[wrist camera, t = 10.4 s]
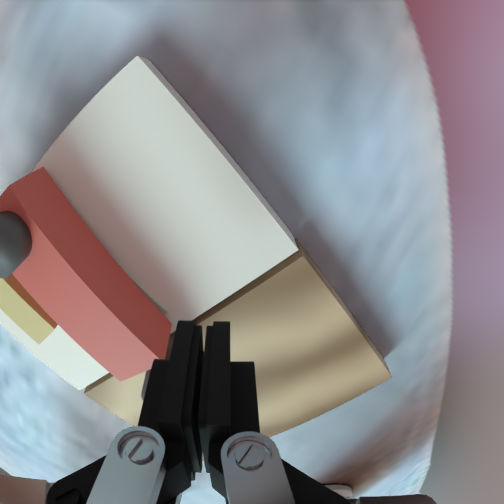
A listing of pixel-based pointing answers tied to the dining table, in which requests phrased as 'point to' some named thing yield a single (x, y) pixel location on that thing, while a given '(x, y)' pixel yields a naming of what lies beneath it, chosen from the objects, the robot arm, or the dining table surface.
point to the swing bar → (77, 278)
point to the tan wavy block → (279, 349)
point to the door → (151, 212)
